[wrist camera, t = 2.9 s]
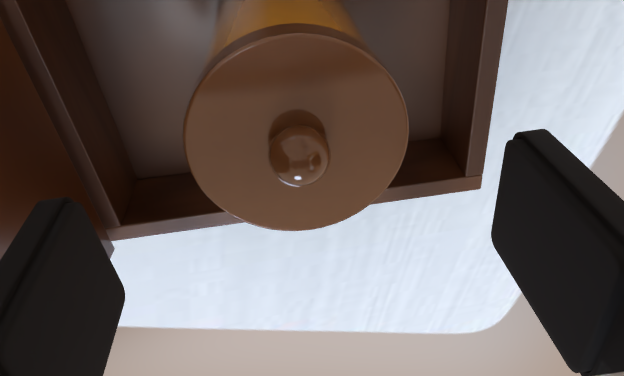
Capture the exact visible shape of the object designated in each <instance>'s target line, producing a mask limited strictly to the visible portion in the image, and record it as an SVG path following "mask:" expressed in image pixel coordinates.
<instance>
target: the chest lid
mask: <svg viewBox="0 0 624 376" xmlns="http://www.w3.org/2000/svg"><path fill="white" fill-rule="evenodd" d="M61 197H70V198H71V199H72V200H73V201H74V202H80V203H81V204H82V205H83V207H84V209H85V211H86V213H87V215H88V217H89V219H90V221H91V223H92V225H93V227H94V229H95V231H96V233H97V235H98V237H99V239H100V241H101V243H102V245H103V247H104V249H105V251H106V253H107V255H108V257H109V259H110V258H111V256H112V253H113V251H114V246H113V244H112V242H111V240H110V238H109V236H108V234H107V232H106V230H105V228H104V226H103V224H102V222H101V220H100V218H99V216H98V214H97V212H96V210H95V208H94V206H93V204H92V202H91V200H90V198H89V196H88V194H87V192H86V190H85V188H84V186H83V184H82V182H81V180H80V178H79V176H78V174H77V172H76V170H75V168H74V166H73V164H72V162H71V160H70V158H69V156H68V154H67V152H66V150H65V148H64V146H63V144H62V142H61V140H60V138H59V135H58V133H57V131H56V129H55V127H54V125H53V123H52V121H51V119H50V117H49V115H48V113H47V111H46V109H45V107H44V105H43V103H42V101H41V99H40V97H39V95H38V93H37V91H36V89H35V87H34V85H33V83H32V81H31V79H30V77H29V75H28V73H27V71H26V69H25V67H24V65H23V63H22V61H21V59H20V57H19V55H18V53H17V51H16V49H15V47H14V45H13V43H12V41H11V39H10V37H9V35H8V33H7V31H6V29H5V27H4V25H3V23H2V21H1V19H0V260H1V258H2V257H3V255H4V253H5V252H6V250H7V249H8V247H9V246H10V244H11V242H12V241H13V239H14V238H15V236H16V235H17V233H18V231H19V230H20V228H21V227H22V225H23V224H24V222H25V220H26V219H27V217H28V216H29V214H30V212H31V211H32V209H33V208H34V206H35V205H36V203H37V202H38V201H41V200H47V199H54V198H61Z"/></svg>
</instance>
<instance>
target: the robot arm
mask: <svg viewBox="0 0 624 376" xmlns="http://www.w3.org/2000/svg"><path fill="white" fill-rule="evenodd" d="M491 237H492V242H493V245H494V247H495V249H496V251H497V252H498V254H499V256H500V257H501V259H502V260H503V262H504V264H505V265H506V267H507V268H508V270H509V272H510V273H511V275H512V277H513V278H514V280H515V281H516V283H517V285H518V286H519V288H520V289H521V291H522V293H523V294H524V296H525V298H526V299H527V301H528V302H529V304H530V306H531V307H532V309H533V310H534V312H535V314H536V315H537V317H538V318H539V320H540V322H541V323H542V325H543V327H544V328H545V330H546V331H547V333H548V335H549V336H550V338H551V339H552V341H553V343H554V344H555V346H556V347H557V349H558V351H559V352H560V354H561V356H562V357H563V359H564V361H565V362H566V364H567V365H568V367H569V368H570V369H571V370H572V371H573V372H575V373H580V374H581V375H582V376H624V201H623V200H622V199H621V198H620V197H619V196H618V195H617V194H616V193H615V192H613V191H612V190H611V189H610V188H609V187H608V186H607V185H606V184H605V183H604V182H603V181H602V180H600V179H599V178H598V177H597V176H596V175H595V174H594V173H593V172H592V171H591V170H590V169H589V168H588V167H586V166H585V165H584V164H583V163H582V162H581V161H580V160H579V159H578V158H577V157H576V156H575V155H573V154H572V153H571V152H570V151H569V150H568V149H567V148H566V147H565V146H564V145H563V144H562V143H560V142H559V141H558V140H557V139H556V138H555V137H554V136H553V135H552V134H551V133H550V132H549V131H547V130H545V129H539V130H532V131H525V132H518V133H516V134H515V135H514V137H513V140H509V141H508V142H507V143H506V146H505V152H504V158H503V164H502V170H501V176H500V182H499V188H498V194H497V200H496V206H495V212H494V219H493V225H492V231H491ZM124 302H125V291H124V287H123V285H122V283H121V281H120V279H119V277H118V275H117V273H116V271H115V269H114V267H113V265H112V263H111V261H110V259H109V257H108V255H107V253H106V251H105V249H104V247H103V245H102V243H101V241H100V239H99V237H98V235H97V233H96V231H95V229H94V227H93V225H92V223H91V221H90V219H89V217H88V215H87V213H86V211H85V209H84V207H83V205H82V204H81V203H80V202H74V201H73V200H72V199H71V198H70V197H61V198H54V199H47V200H41V201H38V202H37V203H36V205H35V206H34V208H33V209H32V211H31V212H30V214H29V216H28V217H27V219H26V220H25V222H24V224H23V225H22V227H21V228H20V230H19V231H18V233H17V235H16V236H15V238H14V239H13V241H12V242H11V244H10V246H9V247H8V249H7V250H6V252H5V253H4V255H3V257H2V258H1V260H0V376H103V374H104V370H105V367H106V363H107V359H108V357H109V353H110V349H111V346H112V343H113V340H114V336H115V333H116V329H117V326H118V323H119V319H120V316H121V312H122V309H123V306H124Z"/></svg>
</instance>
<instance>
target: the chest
mask: <svg viewBox="0 0 624 376" xmlns="http://www.w3.org/2000/svg"><path fill="white" fill-rule="evenodd" d="M220 1H221V0H0V19H1V21H2V23H3V25H4V27H5V29H6V31H7V33H8V35H9V37H10V39H11V41H12V43H13V45H14V47H15V49H16V51H17V53H18V55H19V57H20V59H21V61H22V63H23V65H24V67H25V69H26V71H27V73H28V75H29V77H30V79H31V81H32V83H33V85H34V87H35V89H36V91H37V93H38V95H39V97H40V99H41V101H42V103H43V105H44V107H45V109H46V111H47V113H48V115H49V117H50V119H51V121H52V123H53V125H54V127H55V129H56V131H57V133H58V135H59V138H60V140H61V142H62V144H63V146H64V148H65V150H66V152H67V154H68V156H69V158H70V160H71V162H72V164H73V166H74V168H75V170H76V172H77V174H78V176H79V178H80V180H81V182H82V184H83V186H84V188H85V190H86V192H87V194H88V196H89V198H90V200H91V202H92V204H93V206H94V208H95V210H96V212H97V214H98V216H99V218H100V220H101V222H102V224H103V226H104V228H105V230H106V232H107V234H108V236H109V238H110V240H111V241H116V240H123V239H130V238H137V237H144V236H151V235H158V234H165V233H172V232H179V231H186V230H193V229H200V228H207V227H215V226H222V225H229V224H236V223H243V222H244V221H242V220H240V219H237V218H235V217H234V216H232V215H230V214H228V213H227V212H225V211H224V210H222V209H221V208H220V207H218V206H217V205H216V204H215V203H214V202H213V201H212V200H211V199H210V198H209V197H208V196H207V195H206V194H205V193H204V192H203V191H202V189H201V188H200V187H199V185H198V184H197V182H196V180H195V179H194V177H193V175H192V174H191V171H190V169H189V166H188V164H187V161H186V157H185V153H184V149H183V136H182V135H183V122H184V118H185V113H186V109H187V105H188V101H189V98H190V94H191V92H192V90H193V87H194V85H195V82H196V81H197V79H198V77H199V76H200V74H201V72H202V70H203V65H204V61H205V57H206V53H207V49H208V45H209V40H210V36H211V32H212V28H213V24H214V20H215V15H216V11H217V8H218V6H219V3H220ZM342 1H343V2H344V4H345V6H346V8H347V9H348V11H349V13H350V15H351V17H352V18H353V20H354V22H355V24H356V25H357V27H358V29H359V31H360V32H361V34H362V36H363V38H364V40H365V41H366V43H367V45H368V47H369V48H370V49H371V50H372V51H373V52H374V53H375V54H376V55H377V56H378V57H379V58H380V59H381V60H382V62H383V63H384V64H385V66H386V67H387V68H388V70H389V71H390V73H391V75H392V76H393V78H394V80H395V82H396V83H397V85H398V87H399V89H400V91H401V93H402V95H403V98H404V101H405V104H406V108H407V113H408V118H409V136H408V144H407V148H406V152H405V156H404V158H403V161H402V163H401V166H400V168H399V170H398V172H397V174H396V175H395V177H394V179H393V180H392V182H391V183H390V184H389V186H388V187H387V188H386V189H385V191H384V192H383V193H382V194H381V195H380V196H379V197H378V198H377V199H376V200H374V201H373V202H372V203H371V204H377V203H384V202H391V201H398V200H405V199H412V198H420V197H427V196H434V195H441V194H448V193H455V192H462V191H469V190H476V189H480V188H481V182H482V174H483V169H484V162H485V155H486V148H487V142H488V135H489V128H490V121H491V114H492V108H493V101H494V94H495V87H496V80H497V73H498V67H499V60H500V53H501V46H502V39H503V33H504V26H505V19H506V12H507V5H508V0H342Z"/></svg>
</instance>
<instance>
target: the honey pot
mask: <svg viewBox="0 0 624 376" xmlns="http://www.w3.org/2000/svg"><path fill="white" fill-rule="evenodd" d="M182 136H183V149H184V153H185V157H186V161H187V164H188V166H189V169H190V171H191V174H192V175H193V177H194V179H195V180H196V182H197V184H198V185H199V187H200V188H201V189H202V191H203V192H204V193H205V194H206V195H207V196H208V197H209V198H210V199H211V200H212V201H213V202H214V203H215V204H216V205H217V206H218V207H220V208H221V209H222V210H224V211H225V212H227V213H228V214H230V215H232V216H234V217H235V218H237V219H240V220H242V221H244V222H246V223H249V224H252V225H255V226H258V227H262V228H267V229H272V230H281V231H302V230H311V229H316V228H322V227H325V226H329V225H332V224H335V223H338V222H340V221H343V220H345V219H347V218H349V217H351V216H353V215H355V214H357V213H358V212H360V211H361V210H363V209H364V208H366V207H367V206H369V205H370V204H371V203H372V202H373V201H374V200H376V199H377V198H378V197H379V196H380V195H381V194H382V193H383V192H384V191H385V189H386V188H387V187H388V186H389V184H390V183H391V182H392V180H393V179H394V177H395V175H396V174H397V172H398V170H399V168H400V166H401V163H402V161H403V158H404V156H405V152H406V148H407V144H408V136H409V118H408V113H407V108H406V104H405V101H404V98H403V95H402V93H401V91H400V89H399V87H398V85H397V83H396V82H395V80H394V78H393V76H392V75H391V73H390V71H389V70H388V68H387V67H386V66H385V64H384V63H383V62H382V60H381V59H380V58H379V57H378V56H377V55H376V54H375V53H374V52H373V51H372V50H371V49H370V48H369V47H368V45H367V43H366V41H365V40H364V38H363V36H362V34H361V32H360V31H359V29H358V27H357V25H356V24H355V22H354V20H353V18H352V17H351V15H350V13H349V11H348V9H347V8H346V6H345V4H344V2H343V1H342V0H221V1H220V3H219V6H218V8H217V11H216V15H215V20H214V24H213V28H212V32H211V36H210V40H209V45H208V49H207V53H206V57H205V61H204V65H203V70H202V72H201V74H200V76H199V77H198V79H197V81H196V82H195V85H194V87H193V90H192V92H191V94H190V98H189V101H188V105H187V109H186V113H185V118H184V122H183V135H182Z"/></svg>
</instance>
